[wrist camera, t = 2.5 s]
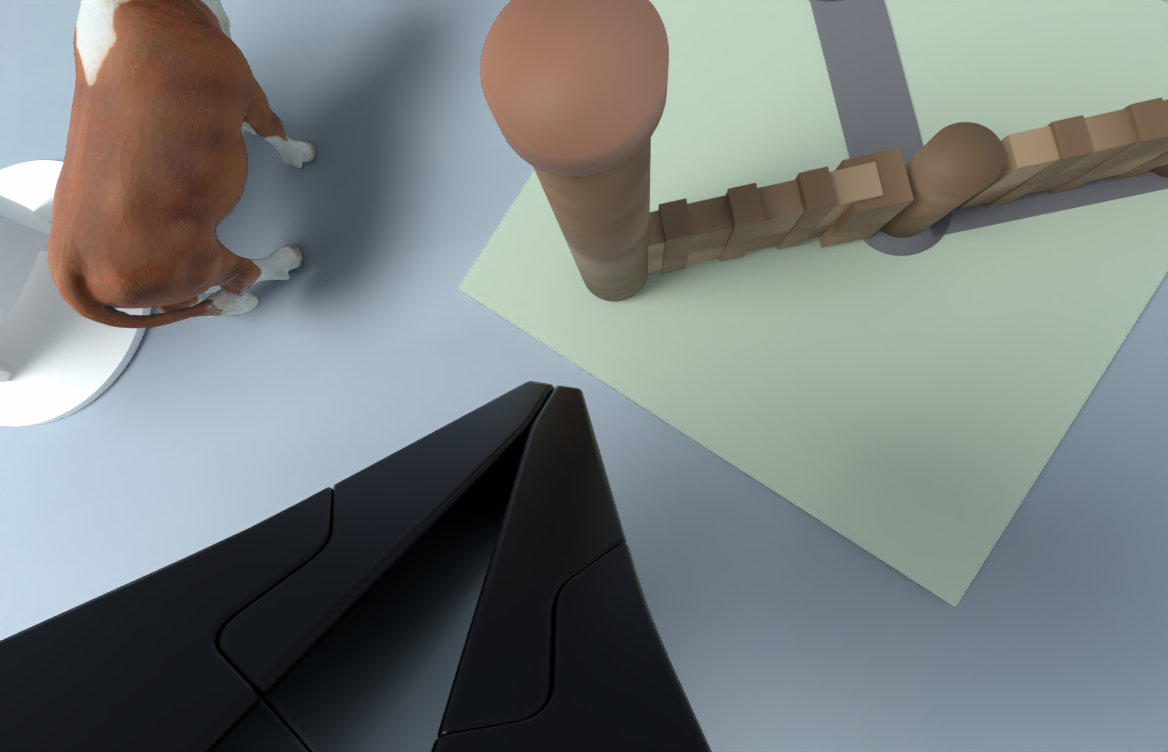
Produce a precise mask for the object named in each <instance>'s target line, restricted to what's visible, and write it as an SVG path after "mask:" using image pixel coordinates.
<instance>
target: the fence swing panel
mask: <svg viewBox="0 0 1168 752" xmlns="http://www.w3.org/2000/svg"><path fill="white" fill-rule="evenodd" d="M668 68H669V44H668V37H667V33H666V30H665V26H664V24H663V21H662V19H661V17H660V15H659V13H658V12H657V10H656V9H655V7H654V6H653V4H652V3H651V2H650V1H649V0H511V1H510V2H509V3H508V4H507V5H506V6H505V7H504V9H503V10H502V11H501V13H500V14H499V15H498V16H497V18H496V20H495V21H494V23H493V25H492V26H491V28H490V30H489V33H488V35H487V37H486V40H485V43H484V47H483V50H482V56H481V67H480V74H481V84H482V88H483V92H484V95H485V98H486V100H487V103H488V105H489V107H490V109H491V111H492V113H493V116H494V118H495V120H496V122H497V124H498V126H499V128H500V130H501V132H502V134H503V135H504V137H505V139H506V141H507V142H508V144H509V145H510V146H511V148H512V149H513V150H514V151H515V152H516V153H517V154H518V155H519V156H520V157H521V158H522V159H524V160H525V161H526V162H528V163H529V164H531V165H532V166H533V167H534V170H535V172H536V174H537V176H538V179H539V181H540V183H541V185H542V188H543V190H544V192H545V195H546V197H547V199H548V201H549V204H550V206H551V208H552V210H553V213H554V215H555V217H556V220H557V222H558V224H559V226H560V229H561V231H562V233H563V235H564V238H565V240H566V242H567V245H568V247H569V249H570V251H571V254H572V256H573V258H574V260H575V263H576V265H577V267H578V270H579V272H580V274H581V276H582V279H583V281H584V283H585V285H586V287H587V288H588V289H589V291H590V292H591V293H592V294H594V295H595V296H596V297H598V298H600V299H603V300H606V301H612V302H617V301H623V300H626V299H628V298H630V297H632V296H634V295H635V294H636V293H638V292H639V291H640V290H641V288H642V287H643V286H644V284H645V282H646V280H647V277H648V273H651V272H655V271H660V270H662V274H664V273H669V272H673V271H678V270H683V269H685V268H686V265H688V264H693V263H698V262H702V261H707V260H712V259H717V258H719V262H721V261H725V260H730V259H735V258H740V257H743V255H744V254H745V252H750V251H754V250H759V249H764V248H768V247H773V246H777V249H782V248H787V247H792V246H796V245H801V244H802V243H803V242H804V241H805V240H806V239H811V238H816V237H818V238H819V242H820V246H821V248H822V247H826V246H831V245H836V244H841V243H845V242H850V241H855V240H860V239H864V238H869V237H870V236H872V235H873V234H874V233H875V232H876V231H878V230H879V229H880V228H881V227H882V226H884V225H885V224H886V223H887V222H888V221H890V220H891V219H892V218H893V217H894V216H896V215H897V214H898V213H899V212H900V211H902V210H903V209H904V208H905V207H906V206H907V205H909V204H910V203H911V202H912V201H913V200H914V198H913V194H912V190H911V187H910V183H909V179H908V175H907V171H906V168H905V164H904V160H903V156H902V153H901V149H900V147H899V148H894V149H890V150H885V151H881V152H876V153H872V154H868V155H863V156H859V157H854V158H850V159H845V160H842V161H841V163H840V164H839V166H838V167H837V168H836V170H835V171H832V172H829V169H828V166H827V167H823V168H818V169H814V170H809V171H805V172H800V173H799V174H798V175H797V177H796V179H795V180H791V181H787V182H782V183H778V184H773V185H769V186H764V187H760V188H757V184H756V183H751V184H747V185H743V186H738V187H734V188H729V189H728V190H727V193H726V195H724V196H720V197H715V198H711V199H706V200H702V201H697V202H693V203H689V204H687V200H686V198H685V199H680V200H676V201H671V202H667V203H662V204H659V207H658V210H657V211H653V212H650V162H651V136H652V135H653V133H654V131H655V130H656V128H657V126H658V124H659V122H660V119H661V117H662V115H663V111H664V107H665V104H666V96H667V84H668Z"/></svg>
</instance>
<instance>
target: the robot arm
mask: <svg viewBox="0 0 1168 752" xmlns="http://www.w3.org/2000/svg"><path fill="white" fill-rule="evenodd" d="M437 734H438V739H437V740H436V741H435V739H436V736H437ZM434 741H435V743H434ZM433 743H434V745H433ZM432 746H433V748H432ZM431 748H432V752H712V751H711V749H710V747H709V745H708V743H707V740H706V738H705V736H704V734H703V732H702V729H701V727H700V725H699V723H698V721H697V718H696V716H695V714H694V712H693V710H692V708H691V705H690V703H689V701H688V699H687V697H686V694H685V692H684V690H683V688H682V686H681V683H680V681H679V679H678V677H677V675H676V672H675V670H674V668H673V666H672V664H671V661H670V659H669V657H668V654H667V652H666V650H665V647H664V645H663V642H662V640H661V638H660V635H659V633H658V630H657V628H656V626H655V623H654V621H653V618H652V616H651V614H650V611H649V608H648V605H647V602H646V599H645V597H644V594H643V591H642V588H641V585H640V582H639V579H638V576H637V573H636V570H635V567H634V563H633V560H632V557H631V553H630V550H629V547H628V545H627V544H626V539H625V535H624V532H623V529H622V525H621V522H620V518H619V515H618V512H617V508H616V505H615V501H614V498H613V494H612V491H611V488H610V484H609V481H608V477H607V474H606V471H605V467H604V464H603V460H602V457H601V454H600V450H599V447H598V443H597V440H596V437H595V433H594V430H593V426H592V423H591V420H590V416H589V413H588V409H587V406H586V403H585V399H584V396H583V393H582V391H581V390H580V389H578V388H572V387H565V386H556V387H555V388H554V387H553V385H551V384H546V383H540V382H533V381H529V382H526V383H524V384H522V385H520V386H519V387H517V388H515V389H513V390H511V391H509V392H507V393H505V394H504V395H502V396H500V397H498V398H496V399H494V400H492V401H490V402H489V403H487V404H485V405H483V406H481V407H479V408H477V409H476V410H474V411H472V412H470V413H468V414H466V415H464V416H462V417H461V418H459V419H457V420H455V421H453V422H451V423H449V424H447V425H446V426H444V427H442V428H440V429H438V430H436V431H434V432H432V433H431V434H429V435H427V436H425V437H423V438H421V439H419V440H417V441H416V442H414V443H412V444H410V445H408V446H406V447H404V448H402V449H401V450H399V451H397V452H395V453H393V454H391V455H389V456H388V457H386V458H384V459H382V460H380V461H378V462H376V463H374V464H373V465H371V466H369V467H367V468H365V469H363V470H361V471H359V472H358V473H356V474H354V475H352V476H350V477H348V478H346V479H344V480H343V481H341V482H339V483H337V484H335V485H334V488H333V489H332V488H329V487H328V488H325V489H324V490H322V491H320V492H318V493H316V494H314V495H312V496H310V497H309V498H307V499H305V500H303V501H301V502H299V503H297V504H295V505H293V506H291V507H289V508H287V509H285V510H283V511H281V512H280V513H278V514H276V515H274V516H272V517H270V518H268V519H266V520H264V521H262V522H260V523H258V524H256V525H254V526H252V527H250V528H248V529H246V530H244V531H241V532H239V533H237V534H235V535H233V536H231V537H229V538H227V539H224V540H222V541H220V542H218V543H216V544H214V545H212V546H209V547H207V548H205V549H203V550H201V551H199V552H197V553H194V554H192V555H190V556H188V557H186V558H184V559H181V560H179V561H177V562H175V563H172V564H170V565H168V566H166V567H163V568H161V569H159V570H157V571H155V572H152V573H150V574H148V575H146V576H143V577H141V578H139V579H137V580H135V581H132V582H130V583H128V584H126V585H123V586H121V587H119V588H117V589H115V590H112V591H110V592H108V593H106V594H103V595H101V596H99V597H97V598H95V599H92V600H90V601H88V602H86V603H83V604H81V605H79V606H77V607H74V608H72V609H70V610H68V611H66V612H63V613H61V614H59V615H57V616H54V617H52V618H50V619H48V620H46V621H43V622H41V623H39V624H37V625H34V626H32V627H30V628H28V629H26V630H23V631H21V632H19V633H17V634H14V635H12V636H10V637H8V638H5V639H3V640H1V641H0V752H430V750H431Z"/></svg>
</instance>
